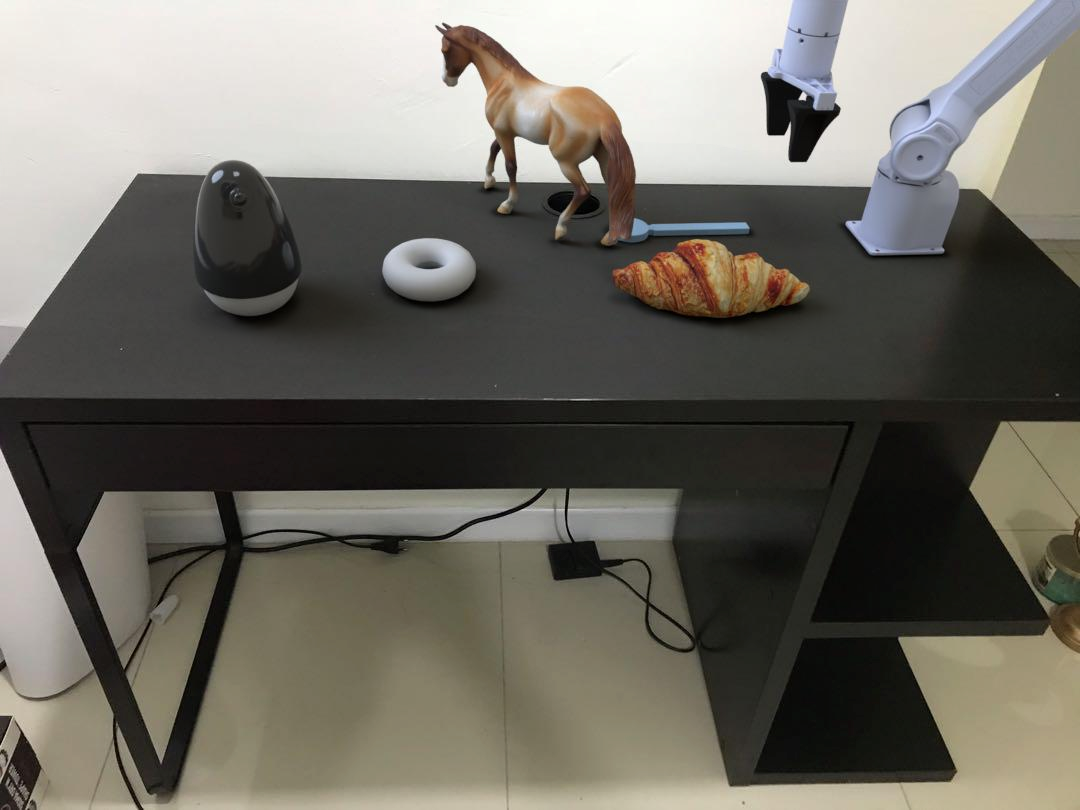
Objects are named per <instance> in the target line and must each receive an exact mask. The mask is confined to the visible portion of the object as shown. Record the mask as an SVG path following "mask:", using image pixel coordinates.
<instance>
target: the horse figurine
mask: <svg viewBox="0 0 1080 810" xmlns="http://www.w3.org/2000/svg"><path fill="white" fill-rule="evenodd" d="M441 25H442V26H443V28H442V27H441V26H439V25H437V24H435V26H434V27H435V28H436V30H437V31H438V32H439V33H440V34H441V35H442V37H441V48H440V52H441V53H442V59H443V60H442V63H443V64H442V65H443V66H442V75H441V80H442V83H444V84H445V85H446V86H447V87H448V88H450V87H451V88H454V87H456V86H457V85H458V83H459V78H460V77H461V75H462V74H463V73H464V72H465V70H466V69H467V68H468V66H469V65H471V64H473V65H474V67H475V68H476V70H477V72H478V74H479V77H480V79H481V82H482V84H483V86H484V88H485V91H486V98H485V104H484V112H485V113H484V116H485V119H486V121H487V123H488V124H489V126H490V128H491V129H492V130H493V133H494V137H495V139H494V140H493V141H492V143H491V145H490V147H489V157H488V159H487V163H486V165H485V168H484V169H485V176H484V185H483V186H484V189H485V190H487V189H489V188H492V187H494V186H496V184H497V181H496V177H495V176H494V175H493V173H494V172H495V167H496V166H495V164H496V161H497V157H498V154H499V153H500V151H501V152H502V155H503V157H504V166H505V171H506V175H507V177H508V181H509V193H508V198H507V199H505V201H503V202H502V203H501V204H500V206H499V207H498V208H497V212H498V213H499V214H503V215H508V214H511V212H512V210H513V208H514V207H513V204H514V203H516V202H518V200H519V194H518V186H517V173H518V163H517V162H518V161H517V154H516V143H515V138H517V137H518V138H522V139H524V140H526V141H529V142H531V143H533V144H535V145H541V146H548V150H549V152H550V153H551V155H552V157H553V159H554V160H555V161H556V162H557V164H558V167H559V169H560V172H561V173H562V175H563V177H565V179H566V180H568V181H569V182H570V184H571V185H572V187H573V197H572V199H571V201H570V203H569V204H568V205H567V207H566V209H564V210H563V211H562V213H561V214H560V215H559V217H558V221H557V224H556V226H555V235H554V240H555V241H559V240H561V239H562V238H563V237H565V236H566V235H568V227H567V226H566V224H567V223H570V222H571V219H572V217H573V216H574V214H575V213H576V211H577V209H578V208H579V207H580V206H581V205H582V204H583V203H584V202H585V201H586V200H587V199H589V197H590V196H591V194H592V188H591V186H590V184H589V183H588V182H587V181H586V179H585V178H584V175H583V173H582V171H581V169H580V164H582V163H584V162H586V161H587V160H589V159H591V157H593V158H594V159H595V161H596V162H597V163H598V166H599V167H598V168H599V170H600V171H599V172H600V174H601V177H602V179H603V182H604V184H605V186H606V189H607V192H608V200H607V201H608V203H607V204H608V220H609V226H608V229H609V230H608V231H607V232H606V233H605V235H604V236H603V238H602V239H601V240H600V244H602V245H603V246H607V247H611V246H615V245H617V243H618V241H619V240H618V239H619V238H621V239H622V240H625V239H630V237H631V235H632V230H633V224H634V218H635V217H636V209H635V204H636V203H635V202H636V196H635V195H636V192H635V189H636V179H637V171H636V167H635V161H634V157H633V154H632V151H631V148H630V146H629V144H628V142H627V140H626V138H625V136H624V134H623V126H622V122H621V120H620V118H619V116H618V114H617V112H616V111H615V110H614V108H613V107H612V106H611V105H610V104H609V103H608V102H607V101H606V100H604V98H603V97H601V96H600V95H599V94H597V93H596V92H595V91H593V90H592V89H590V88H588V87H584V86H577V85H575V86H563V85H562V86H561V85H556V84H553V83H548V82H545V81H543V80H541V79H539V78H538V77H536V76H535V75H534V74H532V73H531V72H530V71H529V70H528V69H527V68H525V67H524V66H523V65H522V64H521V63H520V62H519V60H518V59H517V58H516V57H515V56H514V55H513V54H512V53H511V52H509V51H508V50H507V49H506V48H505V47H504V46H503V45H502V44H501V43H500V42H498V41H497V40H496V39H494V38H493V37H492V36H490V35H488V34H487V33H486V32H484V31H481V30H480V29H478V28H477V27H474V26H470V25H464V24H459V25H457V26H451V25H449V24H447V23H445V22H441Z"/></svg>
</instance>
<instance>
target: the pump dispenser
mask: <svg viewBox="0 0 1080 810" xmlns="http://www.w3.org/2000/svg"><path fill="white" fill-rule="evenodd" d="M197 196H198V197H197V200H196V201H197V202H196V206H195V214H194V224H193V238H192V245H193V246H192V248H193V249H192V251H193V252H192V253H193V255H192V256H193V268H194V274H195V279H196V282H197V284H198V285H199V286H200V288H201V289H203V291H204V293H205V294H206V296H207V297H208V299H209V300H210V301H211V302H212V303H213V304H214V305H215V306H217V307H218V308H220V309H221V310H223V311H224V312H227V313H229V314H233V315H235V316H236V315H237V316H243V317H257V316H262V315H265V314H270V313H272V312H275V311H276V310H278V309H280V308H281V307H283V306H284V305H285V304H286V303H287V302H289V301H290V299H291V298H292V297H293V295H294V293H295V291H296V288H297V286H298V282H299V277H300V276H301V273H302V267H303V266H302V259H301V255H300V254H301V253H300V250H299V247H298V244H297V241H296V238H295V235H294V232H293V228H292V225H291V224H290V222H289V219H288V217H287V214H286V212H285V210H284V208H283V205H282V203H281V201H280V200H279V198H278V196H277V194H276V192H275V190H274V188H273V187H272V186H271V184H270V183H269V181H268V180H267V179H266V177H265V176H264V175H263V173H261V172H260V171H259V170H258V168H256V167H255V166H254V165H252V164H251V163H248V162H246V161H244V160H243V161H242V160H239V159H227V160H223V161H221V162H219V163H217V164H215V165H214V166H213V167H211V169H209V171H208V172H207V174H206V175H205V177H204V179H203V181H202V184H201V186H200V189H199V192H198V195H197Z"/></svg>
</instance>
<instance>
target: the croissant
mask: <svg viewBox="0 0 1080 810" xmlns="http://www.w3.org/2000/svg"><path fill="white" fill-rule="evenodd" d="M612 283H614V285H615V286H616V287H617V289H619V290H621V291H623V292H625V293H627V294H630V295H632V296H633V297H635V298H638V299H639V300H641V301H642V302H643V303H644V304H646V305H647V306H648V305H649V306H650V307H653V308H655V309H657V310H666V311H672V312H674V313H677V314H680V315H683V316H691V317H696V318H697V317H708V318H718V319H726V318H733V317H739V316H743V315H747V314H749V313H750V314H751V312H755V313H759V312H764V311H768V310H769V309H771V308H776V307H778V306H782V307H783V306H784V307H786V306H790V305H794V304H797V303H800V302H801V301H803V300H804V299H805V298H806V297H807V295H808V293H809V292H810V290H811V287H810V285H809V283H806V282H801V280H800V279H799V278H798V277H797V276H795V274H793V273H791V272H790V270H789V269H787V268H782V269H777V268H775V267H774V266H773V265H772V264H770V263H768V262H765V260H764V258H763V257H762V256H760V255H759V254H758V253H757V252H748V253H745V254H738V255H733V253H732V252H731V251H728V248H727V247H726V245H724V244H722V243H720V242H718V241H715V240H714V241H713V240H709V239H700V238H699V239H698V238H696V239H690V240H684V241H683V242H678V243H677V245H676V247H675V248H674V249H672V251H671V252H670V251H665V252H663V251H662V252H661V251H660V252H658V253H657V254H655V255H654V256H653V257H652V259H651V260H650V261H649V262H646V261H643V260H640V261H636V262H635V261H634V262H633V263H631V264H629V265H627V266H626V267H623V268H616V269H613V270H612Z"/></svg>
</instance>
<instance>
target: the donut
mask: <svg viewBox="0 0 1080 810" xmlns="http://www.w3.org/2000/svg"><path fill="white" fill-rule="evenodd" d="M381 269H382V271H381V272H382V276H383V279H384V281H385V284H386V285H387V286H388V287H389V289H391V290H392V291H393V292H395V293H396V294H398V296H401V297H404V298H406V299H408V300H413V301H417V302H439V301H447V300H449V299H452V298H455V297H458V296H459V295H461V294H462V293H463V292H465V291H467V290H468V289H469V288H470V286H471V285H472V283H473V282H474V281H475V279H476V274H477V273H476V272H477V265H476V261H475V259H474V257H473V256H472V255H471V253H470V252H469V251H468V250H467V249H466V248H464V247H463V246H462V245H460V244H458V243H456V242H454V241H451V240H447V239H441V238H434V237H433V238H429V237H425V238H416V239H411V240H407V241H405V242H402V243H400V244H399V245H397V246H395V247H394V248H392V249H390V251H389V252H388V253H387V255H386V256H385V258H384V260H383V264H382V268H381Z"/></svg>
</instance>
